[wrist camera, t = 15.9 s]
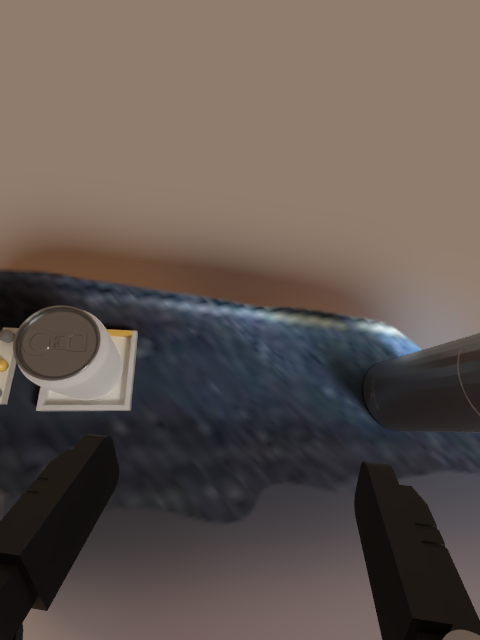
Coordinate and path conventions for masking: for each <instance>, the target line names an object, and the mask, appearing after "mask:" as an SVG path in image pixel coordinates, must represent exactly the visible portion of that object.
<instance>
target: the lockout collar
mask: <svg viewBox="0 0 480 640" xmlns="http://www.w3.org/2000/svg"><path fill="white" fill-rule="evenodd" d="M106 330H107V331H108V333H109V335H110V337H111V339H112V341H113V342H114V344H115V346H116V348H117V350H118V352H119V354H120V356H121V359H122V364H123V371H122V375H121V378H120V380H119V382H118V384H117V385H116V386H115V388H114V389H113V390H112V391H110V392H109V393H108V394H106V395H105V396H103V397H100V398H97V399H94V400H79V399H75V398H72V397H69V396H66V395H63V394H60V393H57V392H54V391H51V390H49V389H46V388H43V387H40V392H39V398H38V403H37V408H36V411H131V401H132V390H133V380H134V370H135V359H136V349H137V338H138V333H137V331H130V330H110V329H106Z"/></svg>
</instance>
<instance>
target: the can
mask: <svg viewBox="0 0 480 640" xmlns="http://www.w3.org/2000/svg"><path fill="white" fill-rule="evenodd" d="M13 353H14V357H15V359H16V362H17V363H18V366H19V368H20V370H21V371H22V373H23V374H24V375H25V376H26V377H27V378H28V379H29V380H30V381H32V382H33V383H35V384H37V385H39V386H41V387H43V388H46V389H49V390H51V391H54V392H57V393H60V394H63V395H66V396H69V397H72V398H75V399H79V400H94V399H97V398H100V397H103V396H105V395H106V394H108V393H109V392H110V391H112V390H113V389H114V388H115V386H116V385H117V384H118V382H119V380H120V378H121V375H122V371H123V364H122V359H121V356H120V354H119V352H118V350H117V348H116V346H115V344H114V342H113V341H112V339H111V337H110V335H109V333H108V331H107V330H106V328H105V327H104V325H103V324H102V323H101V321H100V320H98V319H97V318H96V317H95V316H94V315H92V314H90V313H88V312H86V311H84V310H81V309H78V308H76V307H72V306H65V305H58V306H51V307H47V308H44V309H41V310H39V311H37V312H35V313H34V314H32V315H31V316H29V317H28V318H27V319H26V320H25V321H24V322H23V323H22V324H21V326H20V327H19V329H18V330H17V332H16V334H15V337H14V341H13Z"/></svg>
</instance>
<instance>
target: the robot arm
mask: <svg viewBox="0 0 480 640" xmlns="http://www.w3.org/2000/svg"><path fill="white" fill-rule="evenodd" d="M363 394H364V399H365V403H366V405H367V407H368V410H369V411H370V413H371V414H372V416H373V417H374V418H375V419H376V420H377V422H379V423H380V424H381V425H383V426H384V427H386V428H388V429H390V430H395V431H425V432H480V333H478V334H475V335H472V336H469V337H465V338H462V339H458V340H455V341H451V342H448V343H445V344H441V345H438V346H434V347H431V348H428V349H424V350H421V351H417V352H414V353H411V354H407V355H404V356H400V357H397V358H393V359H390V360H387V361H383V362H380V363H377V364H375V365H374V366H373V367H371V368H370V369H369V371H368V372H367V374H366V376H365V379H364V384H363ZM118 479H119V465H118V461H117V457H116V452H115V448H114V444H113V440H112V438H111V437H110V436H101V435H90V434H88V435H85V436H84V437H83V438H82V439H81V440H80V441H79V443H78V444H77V445H76V446H75V447H74V449H73V450H66V451H65V452H64V453H62V454H61V455H60V456H58V457H57V458H55V459H54V460H53V461H51V462H50V463H49V465H48V466H47V467H46V468H45V469H44V470H43V472H42V473H41V474H40V475H39V476H38V479H37V480H36V481H34V482H33V483H32V485H31V486H30V487H29V488H28V489H27V492H26V494H23V495H22V496H21V498H20V499H19V500H18V501H17V502H16V503H15V505H14V506H13V507H12V508H11V509H10V511H9V512H8V513H7V514H6V515H5V516H4V518H3V519H2V520H1V521H0V640H23V624H22V623H23V621H24V619H25V618H26V616H27V614H28V613H29V611H30V609H31V608H34V609H39V610H45V611H47V610H48V608H49V607H50V605H51V603H52V601H53V599H54V598H55V596H56V594H57V592H58V590H59V588H60V586H61V585H62V583H63V581H64V580H65V578H66V576H67V574H68V572H69V571H70V569H71V567H72V565H73V564H74V562H75V560H76V558H77V556H78V555H79V552H80V551H81V549H82V547H83V546H84V544H85V542H86V540H87V538H88V537H89V534H90V533H91V531H92V530H93V528H94V526H95V524H96V522H97V520H98V519H99V517H100V515H101V513H102V512H103V510H104V508H105V506H106V504H107V503H108V501H109V499H110V497H111V495H112V494H113V492H114V490H115V488H116V486H117V483H118ZM354 503H355V504H354V505H355V516H356V521H357V526H358V530H359V535H360V539H361V544H362V549H363V553H364V558H365V562H366V567H367V572H368V576H369V581H370V585H371V590H372V594H373V599H374V604H375V608H376V613H377V617H378V621H379V626H380V630H381V636H382V640H480V620H479V618H478V616H477V614H476V612H475V609H474V607H473V605H472V602H471V600H470V598H469V596H468V594H467V591H466V589H465V587H464V585H463V583H462V580H461V578H460V576H459V574H458V572H457V569H456V567H455V565H454V563H453V560H452V558H451V556H450V554H449V552H448V550H447V548H445V543H444V541H443V538H442V536H441V534H440V532H439V530H437V527H436V526H437V525H436V523H435V521H434V519H433V516H432V514H431V512H430V510H429V508H428V505H427V504H426V503H425V501H424V500H423V499H422V498H421V497H420V496H419V495H418V494H417V492H416V491H415V490H414V489H413V488H412V486H404V485H399V483H398V480H397V478H396V475H395V473H394V470H393V468H392V466H391V465H390V464H384V463H373V462H362V464H361V468H360V473H359V477H358V482H357V487H356V492H355V500H354Z"/></svg>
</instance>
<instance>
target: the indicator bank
mask: <svg viewBox="0 0 480 640" xmlns="http://www.w3.org/2000/svg"><path fill="white" fill-rule="evenodd" d="M18 329H19V328H3V330H2V331H0V404H7V402H8V397H9V393H10V388H11V384H12V379H13V375H14V371H15V366H16V359H15V357H14V353H13V341H14V337H15V334H16V332H17V330H18Z"/></svg>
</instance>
